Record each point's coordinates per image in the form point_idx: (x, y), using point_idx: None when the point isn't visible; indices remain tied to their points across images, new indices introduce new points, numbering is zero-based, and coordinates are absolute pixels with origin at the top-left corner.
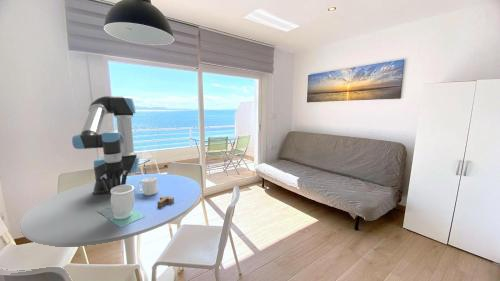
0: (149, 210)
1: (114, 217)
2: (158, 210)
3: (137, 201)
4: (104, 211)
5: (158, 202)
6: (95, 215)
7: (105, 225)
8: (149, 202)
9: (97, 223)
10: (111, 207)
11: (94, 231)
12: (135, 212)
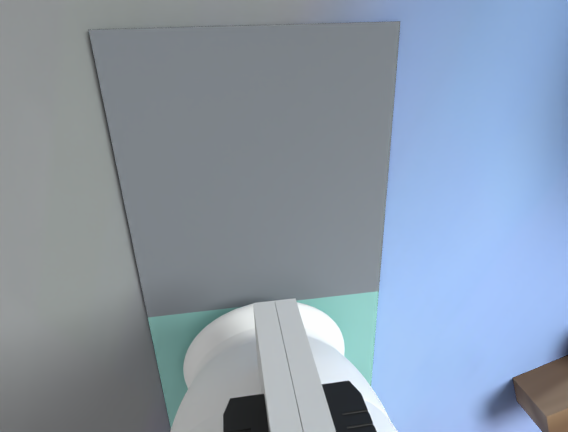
0: (441, 389)
1: (185, 379)
2: (471, 428)
3: (526, 121)
4: (156, 92)
5: (545, 421)
6: (45, 108)
7: (102, 394)
8: (552, 251)
9: (46, 319)
10: (258, 35)
11: (12, 426)
12: (358, 360)
